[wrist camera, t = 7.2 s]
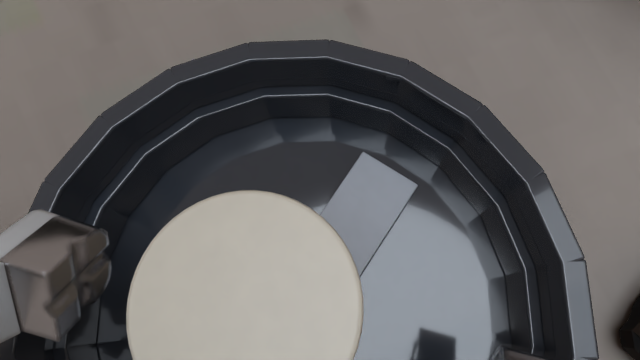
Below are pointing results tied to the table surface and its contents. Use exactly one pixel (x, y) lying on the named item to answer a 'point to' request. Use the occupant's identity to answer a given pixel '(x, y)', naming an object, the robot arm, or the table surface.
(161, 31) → the table surface
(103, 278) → the robot arm
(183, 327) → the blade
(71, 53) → the table surface
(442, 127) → the dark grey round dish
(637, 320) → the knife
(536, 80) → the table surface
